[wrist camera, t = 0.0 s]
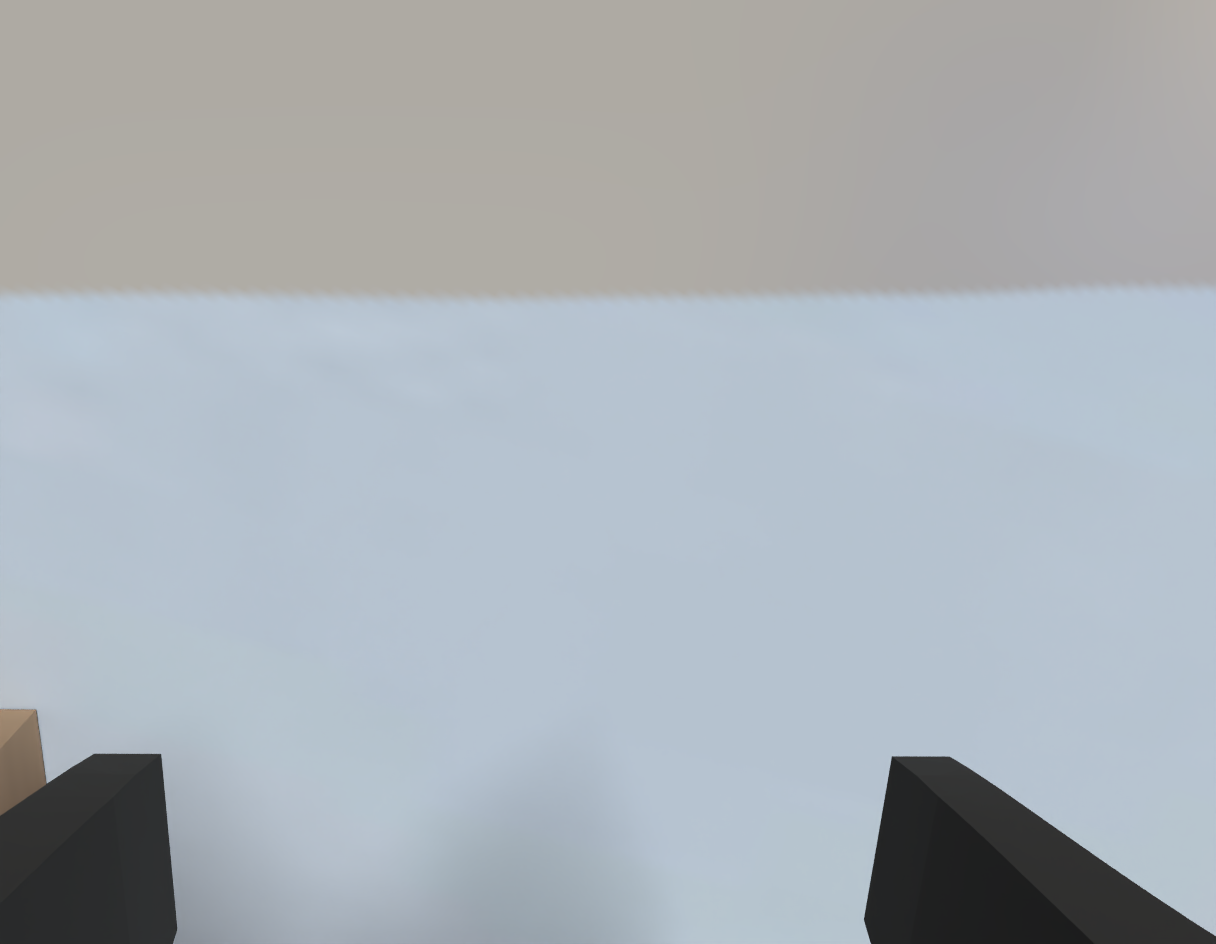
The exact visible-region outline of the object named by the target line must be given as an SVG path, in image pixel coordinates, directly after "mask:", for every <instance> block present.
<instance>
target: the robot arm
mask: <svg viewBox="0 0 1216 944" xmlns="http://www.w3.org/2000/svg"><path fill="white" fill-rule="evenodd" d="M864 922H865V925H866V928H867V932H868V935H869V938H870V942H871V944H1216V936H1214V935H1213V934H1211V933H1210V932H1208V931H1206V930H1205V929H1203V928H1202V927H1200V926H1199V925H1197V924H1195V923H1194V922H1192V921H1191V920H1189V919H1188V918H1186V917H1185V916H1183V915H1182V914H1180V913H1179V912H1177V911H1176V910H1174V909H1173V908H1171V907H1170V906H1168V905H1167V904H1165V903H1164V902H1162V901H1161V900H1159V899H1158V898H1156V897H1155V896H1153V895H1152V894H1150V893H1149V892H1147V891H1146V890H1144V889H1143V888H1141V887H1140V886H1138V885H1137V884H1135V883H1134V882H1132V881H1131V880H1129V879H1128V878H1127V877H1125V876H1124V875H1122V874H1121V873H1119V872H1118V871H1116V870H1115V869H1113V868H1112V867H1111V866H1109V865H1108V864H1106V863H1105V862H1103V861H1102V860H1100V859H1099V858H1098V857H1096V856H1095V855H1093V854H1092V853H1090V852H1089V851H1088V850H1086V849H1085V848H1083V847H1082V846H1080V845H1079V844H1078V843H1076V842H1075V841H1073V840H1072V839H1070V838H1069V837H1068V836H1066V835H1065V834H1063V833H1062V832H1060V831H1059V830H1058V829H1056V828H1055V827H1053V826H1052V825H1050V824H1049V823H1048V822H1046V821H1045V820H1043V819H1042V818H1041V817H1039V816H1038V815H1036V814H1035V813H1033V812H1032V811H1031V810H1029V809H1028V808H1026V807H1025V806H1024V805H1022V804H1021V803H1019V802H1018V801H1016V800H1015V799H1014V798H1012V797H1011V796H1009V795H1008V794H1006V793H1005V792H1003V791H1002V790H1000V789H999V788H998V787H996V786H995V785H993V784H992V783H990V782H989V781H987V780H986V779H984V778H983V777H981V776H980V775H978V774H977V773H975V772H974V771H972V770H971V769H969V768H967V767H966V766H964V765H962V764H961V763H959V762H957V761H956V760H954V759H952V758H951V757H892V760H891V765H890V771H889V777H888V783H887V789H886V795H885V800H884V806H883V812H882V818H881V824H880V829H879V835H878V841H877V847H876V853H875V859H874V864H873V870H872V876H871V882H870V888H869V893H868V899H867V905H866V911H865V917H864ZM176 932H177V921H176V910H175V899H174V889H173V878H172V867H171V856H170V845H169V835H168V824H167V813H166V802H165V791H164V780H163V770H162V759H161V754H93V755H92V756H90V757H88V758H87V759H85V760H83V761H82V762H80V763H78V764H77V765H75V766H73V767H72V768H70V769H69V770H67V771H66V772H64V773H63V774H61V775H60V776H58V777H57V778H55V779H54V780H52V781H51V782H49V783H48V784H46V785H45V786H43V787H42V788H40V789H39V790H37V791H36V792H34V793H33V794H31V795H30V796H28V797H27V798H25V799H24V800H23V801H21V802H20V803H18V804H17V805H15V806H14V807H12V808H11V809H9V810H8V811H6V812H5V813H4V814H2V815H1V816H0V944H173V941H174V938H175V935H176Z"/></svg>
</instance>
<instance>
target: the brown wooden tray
mask: <svg viewBox="0 0 1216 944" xmlns="http://www.w3.org/2000/svg"><path fill="white" fill-rule="evenodd" d="M45 785H46V779H45V772H44V764H43V757H42V750H41V742H40V735H39V728H38V720H37V713H36V710H11V709H0V816H1V815H2V814H4V813H5V812H6V811H8V810H9V809H11V808H12V807H14V806H15V805H17V804H18V803H20V802H21V801H23V800H24V799H25V798H27V797H28V796H30V795H31V794H33V793H34V792H36V791H37V790H39V789H40V788H42V787H43V786H45Z"/></svg>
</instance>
